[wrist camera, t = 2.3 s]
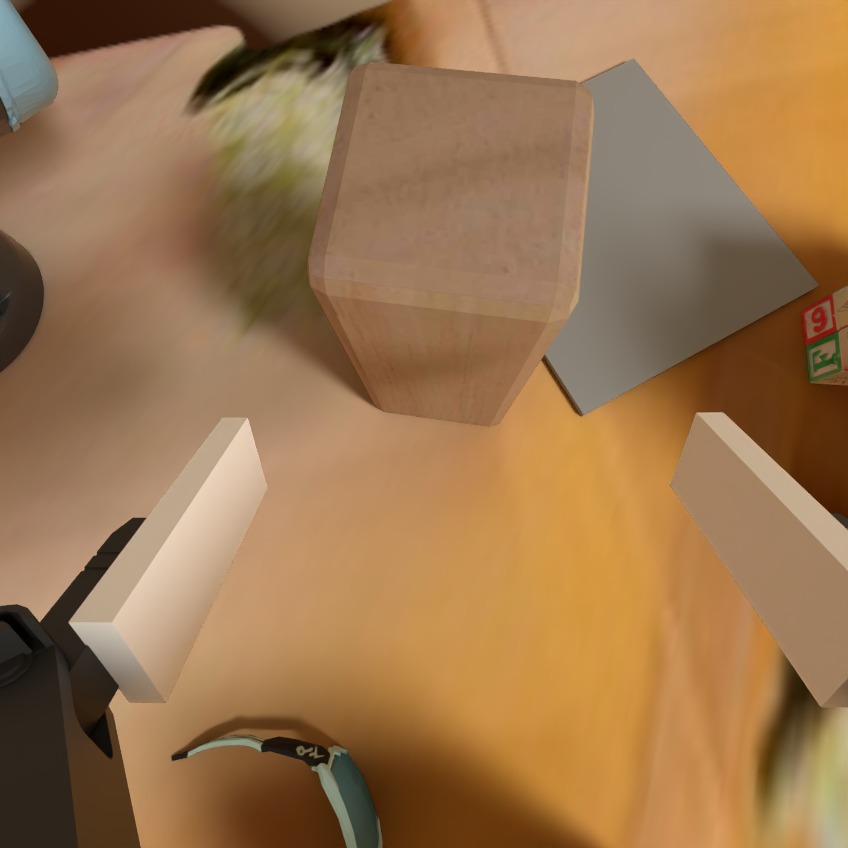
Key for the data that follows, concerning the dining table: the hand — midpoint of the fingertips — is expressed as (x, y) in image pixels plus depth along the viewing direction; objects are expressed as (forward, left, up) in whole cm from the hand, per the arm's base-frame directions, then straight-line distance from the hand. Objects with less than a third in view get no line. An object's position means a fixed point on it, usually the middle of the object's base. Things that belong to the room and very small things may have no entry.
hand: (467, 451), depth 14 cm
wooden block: (-9, +5, -20) cm, 23 cm away
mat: (-13, +23, -20) cm, 33 cm away
